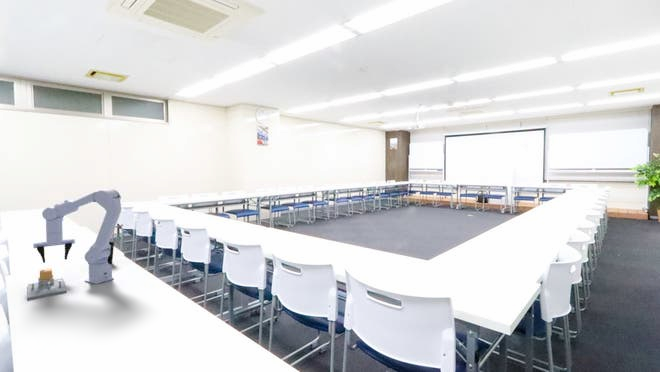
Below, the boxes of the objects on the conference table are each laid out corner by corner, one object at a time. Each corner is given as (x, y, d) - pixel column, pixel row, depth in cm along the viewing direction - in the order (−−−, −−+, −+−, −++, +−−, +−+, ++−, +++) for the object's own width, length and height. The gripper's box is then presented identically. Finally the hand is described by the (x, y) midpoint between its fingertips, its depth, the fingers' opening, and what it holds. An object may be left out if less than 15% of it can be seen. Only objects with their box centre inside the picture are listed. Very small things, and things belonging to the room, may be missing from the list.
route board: (66, 292, 132) (66, 289, 132) (27, 300, 123) (27, 297, 123) (62, 280, 147) (62, 277, 146) (27, 286, 138) (27, 284, 138)
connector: (52, 283, 139) (51, 270, 139) (40, 285, 136) (39, 272, 136) (51, 281, 142) (51, 268, 142) (39, 283, 139) (39, 270, 139)
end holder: (53, 283, 139) (53, 278, 139) (38, 286, 135) (38, 281, 135) (53, 280, 144) (53, 274, 144) (38, 282, 140) (38, 277, 140)
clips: (61, 286, 136) (61, 280, 136) (31, 291, 129) (31, 286, 129) (60, 282, 140) (60, 277, 140) (31, 287, 134) (31, 282, 134)
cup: (107, 266, 169) (107, 245, 168) (94, 266, 169) (93, 244, 169) (117, 262, 177) (117, 241, 176) (104, 262, 177) (104, 241, 176)
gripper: (73, 229, 152) (74, 256, 153) (33, 233, 142) (33, 261, 143) (74, 231, 147) (75, 259, 148) (33, 235, 137) (33, 265, 138)
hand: (55, 260), depth 145 cm, fingers open, 7 cm apart
